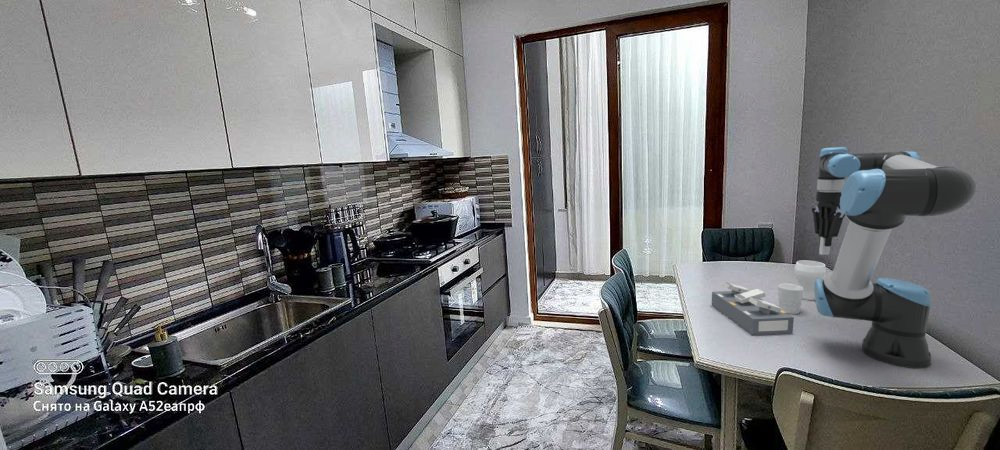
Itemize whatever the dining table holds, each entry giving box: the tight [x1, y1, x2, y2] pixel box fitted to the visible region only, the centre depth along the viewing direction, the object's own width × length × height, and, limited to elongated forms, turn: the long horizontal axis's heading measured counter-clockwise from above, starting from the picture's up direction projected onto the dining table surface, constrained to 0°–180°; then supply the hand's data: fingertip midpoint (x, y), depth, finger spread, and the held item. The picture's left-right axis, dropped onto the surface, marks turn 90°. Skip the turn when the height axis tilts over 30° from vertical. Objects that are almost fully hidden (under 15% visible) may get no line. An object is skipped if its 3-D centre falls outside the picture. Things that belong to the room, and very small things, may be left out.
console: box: [711, 290, 795, 336], centre depth 152 cm, size 28×14×8 cm, turn 179°
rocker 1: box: [721, 281, 751, 293], centre depth 160 cm, size 5×9×2 cm, turn 89°
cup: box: [793, 259, 827, 301], centre depth 169 cm, size 11×11×15 cm
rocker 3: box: [749, 297, 782, 313], centre depth 143 cm, size 5×9×2 cm, turn 89°
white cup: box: [778, 283, 803, 315], centre depth 157 cm, size 8×8×10 cm
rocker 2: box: [734, 288, 766, 303], centre depth 152 cm, size 5×9×2 cm, turn 89°
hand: (824, 254), depth 147 cm, fingers closed
